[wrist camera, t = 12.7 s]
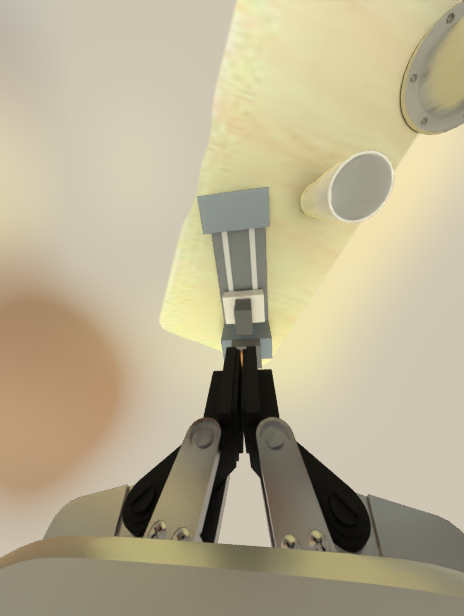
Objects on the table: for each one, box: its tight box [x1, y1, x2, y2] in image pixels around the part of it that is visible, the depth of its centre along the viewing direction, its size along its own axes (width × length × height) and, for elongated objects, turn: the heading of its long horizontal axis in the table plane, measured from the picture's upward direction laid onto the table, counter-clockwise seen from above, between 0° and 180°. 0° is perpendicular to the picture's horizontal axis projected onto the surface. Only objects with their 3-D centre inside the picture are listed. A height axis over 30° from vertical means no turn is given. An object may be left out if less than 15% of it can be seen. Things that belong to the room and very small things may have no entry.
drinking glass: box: [300, 150, 394, 223], centre depth 27 cm, size 7×7×15 cm
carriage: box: [222, 289, 265, 335], centre depth 36 cm, size 6×8×8 cm
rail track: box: [197, 187, 272, 368], centre depth 35 cm, size 30×10×12 cm, turn 6°
